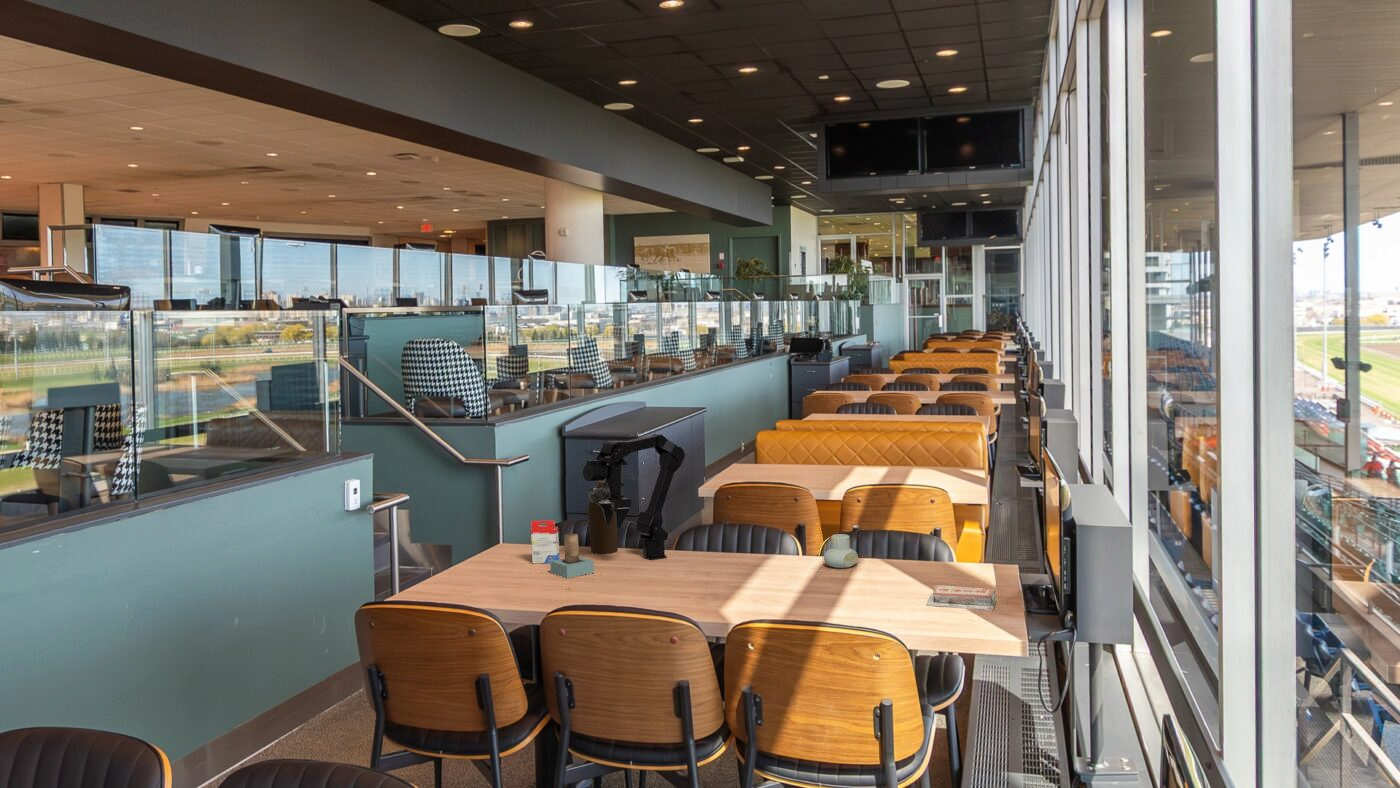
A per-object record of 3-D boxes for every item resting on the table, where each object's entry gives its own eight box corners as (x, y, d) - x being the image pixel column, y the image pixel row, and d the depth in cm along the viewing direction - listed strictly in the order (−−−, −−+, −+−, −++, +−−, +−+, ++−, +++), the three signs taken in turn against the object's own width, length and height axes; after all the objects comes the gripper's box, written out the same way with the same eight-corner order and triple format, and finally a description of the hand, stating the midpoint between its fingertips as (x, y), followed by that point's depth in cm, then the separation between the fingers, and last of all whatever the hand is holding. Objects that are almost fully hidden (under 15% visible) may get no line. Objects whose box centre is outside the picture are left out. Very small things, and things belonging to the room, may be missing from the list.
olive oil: (625, 551, 374) (623, 480, 373) (599, 555, 368) (597, 484, 366) (609, 546, 383) (606, 477, 381) (583, 551, 376) (581, 481, 375)
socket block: (577, 568, 350) (576, 556, 350) (593, 573, 342) (593, 561, 342) (550, 573, 344) (550, 561, 343) (567, 578, 336) (566, 566, 335)
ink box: (560, 560, 362) (558, 517, 362) (556, 563, 358) (555, 520, 357) (535, 560, 363) (533, 518, 362) (531, 564, 358) (530, 520, 358)
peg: (580, 571, 345) (578, 533, 344) (578, 574, 341) (576, 536, 340) (566, 572, 345) (565, 533, 344) (564, 575, 341) (563, 536, 340)
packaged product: (996, 585, 294) (993, 594, 285) (997, 603, 295) (993, 612, 285) (930, 581, 301) (925, 590, 291) (931, 598, 301) (925, 607, 292)
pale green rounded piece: (839, 571, 335) (838, 540, 334) (819, 567, 341) (819, 536, 341) (862, 565, 342) (861, 534, 342) (842, 561, 349) (841, 531, 348)
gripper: (580, 477, 356) (580, 524, 356) (600, 483, 339) (600, 532, 339) (611, 476, 361) (611, 521, 361) (633, 481, 344) (632, 530, 344)
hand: (613, 526), depth 351 cm, fingers open, 9 cm apart
